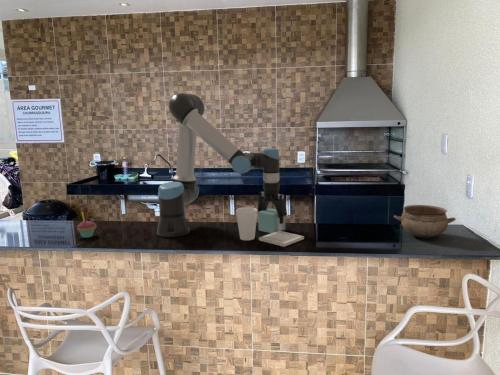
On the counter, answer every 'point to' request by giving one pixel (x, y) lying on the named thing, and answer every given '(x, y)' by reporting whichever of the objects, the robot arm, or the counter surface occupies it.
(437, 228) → the cooking pot
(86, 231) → the cupcake
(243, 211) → the foam cup
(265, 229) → the block
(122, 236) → the counter surface
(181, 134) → the robot arm
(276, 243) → the mat
